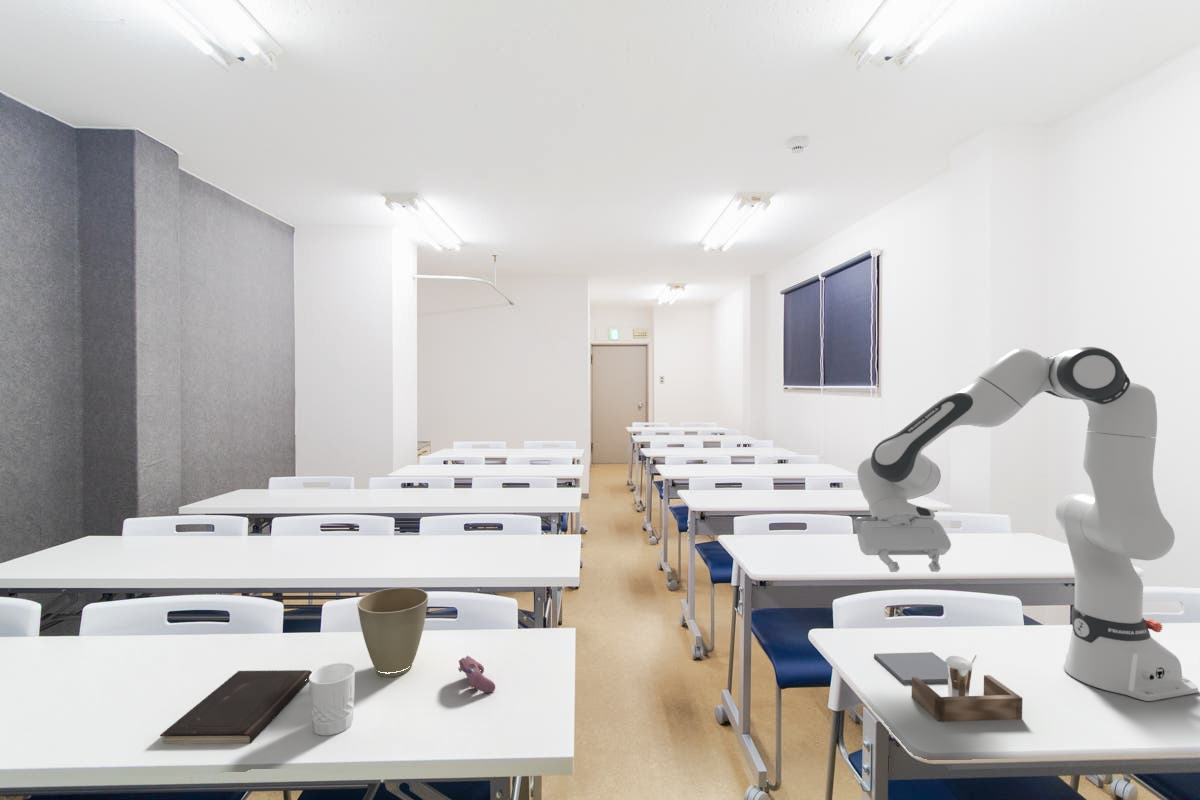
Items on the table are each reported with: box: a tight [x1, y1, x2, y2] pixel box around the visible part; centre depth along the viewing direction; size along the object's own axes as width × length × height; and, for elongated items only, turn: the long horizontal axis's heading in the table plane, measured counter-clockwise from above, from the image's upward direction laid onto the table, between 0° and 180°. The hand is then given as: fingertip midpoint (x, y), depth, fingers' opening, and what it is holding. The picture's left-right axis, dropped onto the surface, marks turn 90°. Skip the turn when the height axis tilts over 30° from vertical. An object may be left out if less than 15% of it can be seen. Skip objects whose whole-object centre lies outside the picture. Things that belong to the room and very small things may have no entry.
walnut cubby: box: [911, 674, 1023, 722], centre depth 115 cm, size 16×9×4 cm, turn 93°
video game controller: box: [457, 655, 496, 694], centre depth 123 cm, size 10×5×7 cm, turn 28°
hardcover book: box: [159, 669, 313, 744], centre depth 115 cm, size 16×23×2 cm
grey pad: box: [873, 651, 948, 685], centre depth 130 cm, size 14×12×1 cm
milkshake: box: [945, 654, 977, 697], centre depth 116 cm, size 4×5×10 cm
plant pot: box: [356, 586, 429, 678], centre depth 130 cm, size 15×15×16 cm
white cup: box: [308, 662, 356, 737], centre depth 109 cm, size 8×8×10 cm
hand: (915, 570), depth 131 cm, fingers open, 8 cm apart
